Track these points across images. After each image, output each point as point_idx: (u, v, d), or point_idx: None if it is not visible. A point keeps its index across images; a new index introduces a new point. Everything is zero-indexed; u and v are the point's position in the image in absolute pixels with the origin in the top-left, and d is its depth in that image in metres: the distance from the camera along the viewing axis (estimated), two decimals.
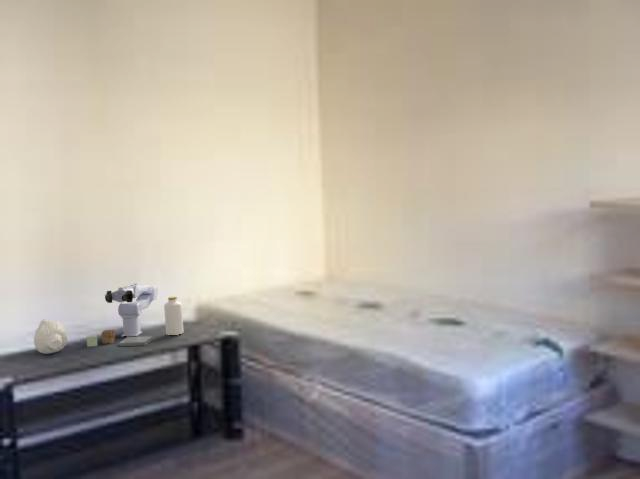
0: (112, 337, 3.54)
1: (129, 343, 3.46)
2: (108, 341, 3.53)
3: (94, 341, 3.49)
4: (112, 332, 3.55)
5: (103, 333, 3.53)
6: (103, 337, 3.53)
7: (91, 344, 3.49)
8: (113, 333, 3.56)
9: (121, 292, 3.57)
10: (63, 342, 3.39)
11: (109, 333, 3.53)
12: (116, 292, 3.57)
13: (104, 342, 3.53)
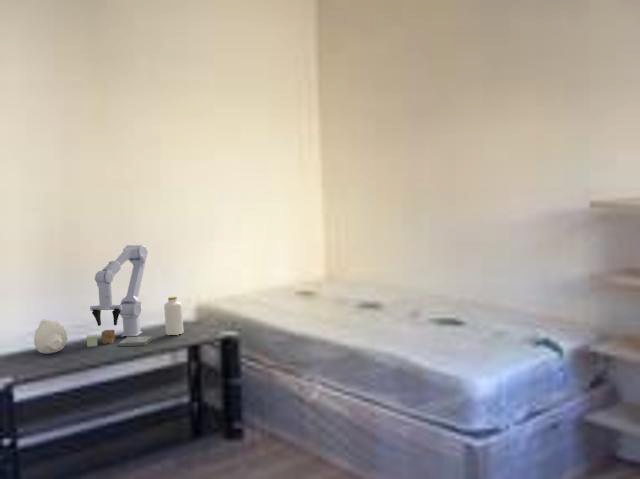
0: (112, 337, 3.54)
1: (129, 343, 3.46)
2: (108, 341, 3.53)
3: (94, 341, 3.49)
4: (112, 332, 3.55)
5: (103, 333, 3.53)
6: (103, 337, 3.53)
7: (91, 344, 3.49)
8: (113, 333, 3.56)
9: None
10: (63, 342, 3.39)
11: (109, 333, 3.53)
12: None
13: (104, 342, 3.53)
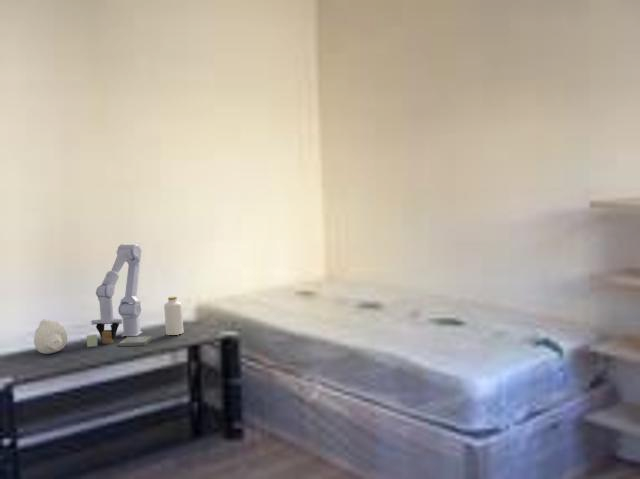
0: None
1: (129, 343, 3.46)
2: (108, 341, 3.53)
3: (94, 341, 3.49)
4: None
5: (103, 333, 3.53)
6: (103, 337, 3.53)
7: (91, 344, 3.49)
8: None
9: None
10: (63, 342, 3.39)
11: (109, 333, 3.53)
12: (101, 322, 3.53)
13: (104, 342, 3.53)
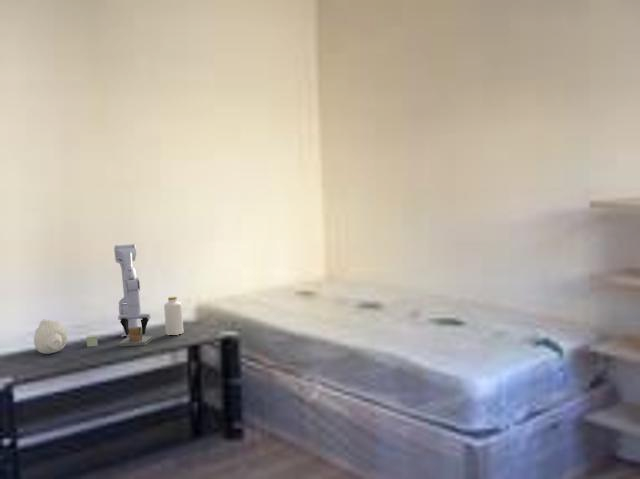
0: (139, 334, 3.50)
1: (129, 343, 3.46)
2: (135, 338, 3.49)
3: (94, 341, 3.49)
4: (139, 329, 3.50)
5: (130, 330, 3.49)
6: (130, 334, 3.49)
7: (91, 344, 3.49)
8: (140, 330, 3.51)
9: None
10: (63, 342, 3.39)
11: (136, 330, 3.48)
12: None
13: (131, 339, 3.49)
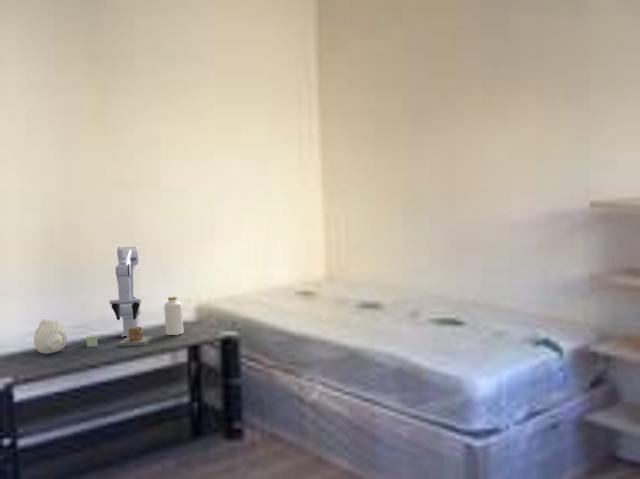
0: (139, 334, 3.50)
1: (129, 343, 3.46)
2: (135, 338, 3.49)
3: (94, 341, 3.49)
4: (139, 329, 3.50)
5: (130, 330, 3.49)
6: (130, 334, 3.49)
7: (91, 344, 3.49)
8: (140, 330, 3.51)
9: None
10: (63, 342, 3.39)
11: (136, 330, 3.48)
12: None
13: (131, 339, 3.49)
